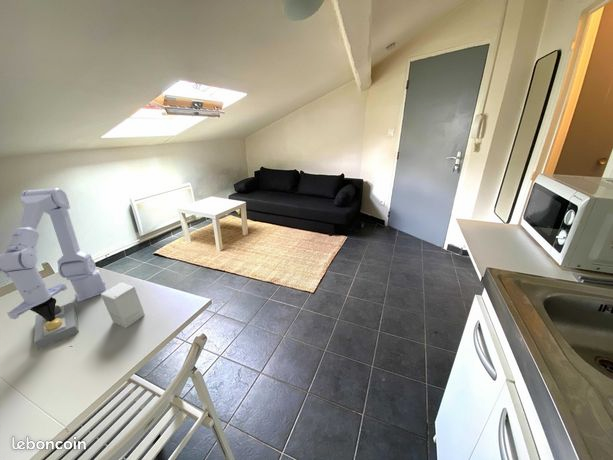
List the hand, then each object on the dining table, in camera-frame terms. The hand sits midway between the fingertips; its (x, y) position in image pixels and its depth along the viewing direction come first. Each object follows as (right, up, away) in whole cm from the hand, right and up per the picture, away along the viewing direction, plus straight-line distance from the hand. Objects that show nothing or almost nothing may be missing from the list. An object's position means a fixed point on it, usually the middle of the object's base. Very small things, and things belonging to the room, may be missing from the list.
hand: (51, 319), depth 85 cm
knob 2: (-6, -3, +8) cm, 10 cm away
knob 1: (0, -5, +2) cm, 6 cm away
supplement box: (+20, -3, +9) cm, 22 cm away
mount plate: (-3, -4, +5) cm, 7 cm away
